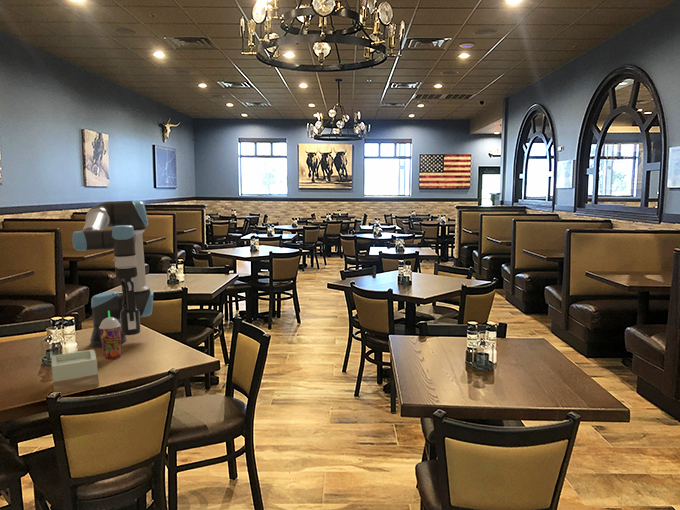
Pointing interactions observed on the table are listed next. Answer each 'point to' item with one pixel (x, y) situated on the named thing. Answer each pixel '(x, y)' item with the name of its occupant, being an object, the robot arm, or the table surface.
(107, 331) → the smoothie
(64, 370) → the tower top block
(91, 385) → the tower base block
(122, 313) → the supplement bottle
